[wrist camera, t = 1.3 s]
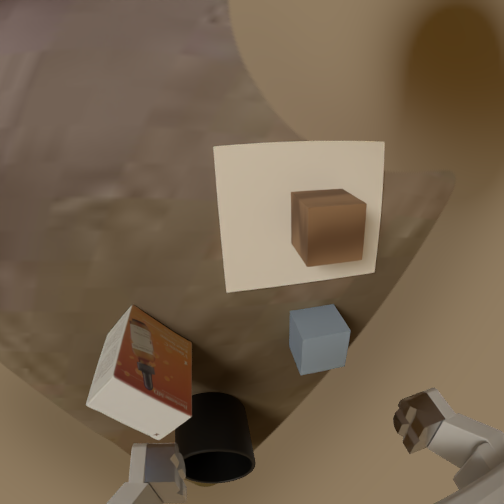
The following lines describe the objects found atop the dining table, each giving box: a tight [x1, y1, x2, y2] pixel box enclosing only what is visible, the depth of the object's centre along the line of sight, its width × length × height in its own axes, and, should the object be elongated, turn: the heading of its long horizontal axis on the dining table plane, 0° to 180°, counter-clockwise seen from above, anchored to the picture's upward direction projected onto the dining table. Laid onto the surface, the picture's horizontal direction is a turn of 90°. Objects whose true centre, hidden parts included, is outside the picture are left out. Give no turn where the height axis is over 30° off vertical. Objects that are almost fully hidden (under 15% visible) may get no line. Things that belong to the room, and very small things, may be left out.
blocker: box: [291, 189, 367, 267], centre depth 28 cm, size 5×5×5 cm
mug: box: [175, 393, 255, 483], centre depth 36 cm, size 9×12×9 cm
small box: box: [86, 305, 192, 440], centre depth 29 cm, size 8×6×10 cm
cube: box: [289, 304, 351, 375], centre depth 34 cm, size 5×5×5 cm
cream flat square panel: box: [213, 141, 385, 293], centre depth 30 cm, size 14×16×1 cm
